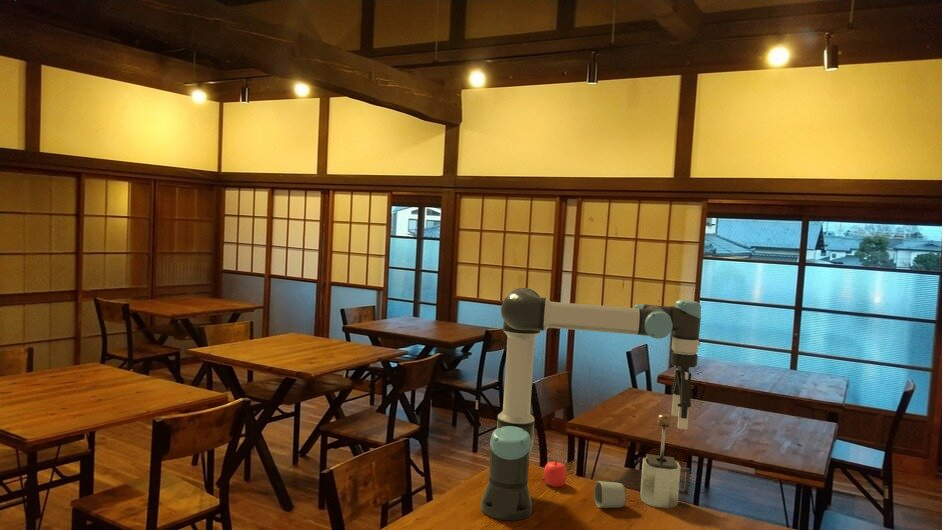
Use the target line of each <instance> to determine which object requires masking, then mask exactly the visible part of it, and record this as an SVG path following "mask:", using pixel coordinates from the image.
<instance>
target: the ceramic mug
mask: <svg viewBox="0 0 943 530" xmlns="http://www.w3.org/2000/svg"><path fill="white" fill-rule="evenodd" d="M593 490H594V492H593V494H594V497H593V498H594V503H595V505H596V506H597V508H598V509H603V508H605V509H609V508H610V509H613V508H614V509H617V508H618V509H619V508H623V507H624V506H625V505H626V503H627V498H628V495H627V490H626V487H625V485H624V484H623V483H619V482H612V481H603V480H602V481H601V480H598V481H597V482H596V483H595V485H594V489H593Z"/></svg>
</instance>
